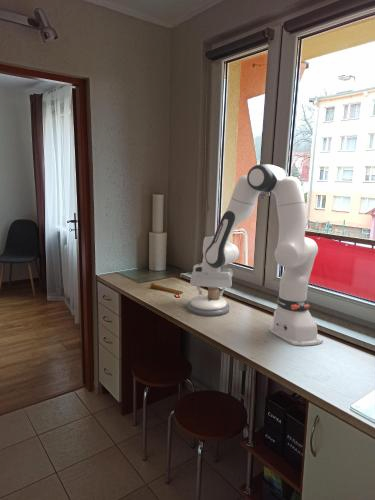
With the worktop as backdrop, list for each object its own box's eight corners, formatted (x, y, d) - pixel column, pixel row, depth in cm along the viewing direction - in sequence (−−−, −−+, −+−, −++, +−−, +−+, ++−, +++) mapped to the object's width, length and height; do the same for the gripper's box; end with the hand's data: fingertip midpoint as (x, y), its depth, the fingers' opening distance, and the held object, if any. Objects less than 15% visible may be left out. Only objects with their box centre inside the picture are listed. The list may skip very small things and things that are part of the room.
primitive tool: (183, 292, 201) (184, 286, 201) (179, 295, 196) (180, 289, 196) (152, 287, 208) (152, 281, 208) (147, 290, 203) (147, 284, 203)
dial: (231, 302, 180) (232, 290, 179) (217, 313, 165) (218, 299, 164) (200, 296, 188) (201, 284, 187) (184, 305, 173) (184, 292, 172)
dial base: (235, 314, 170) (236, 310, 170) (194, 317, 165) (194, 312, 164) (220, 300, 189) (220, 296, 189) (182, 303, 184) (182, 298, 183)
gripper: (232, 267, 181) (231, 294, 183) (191, 265, 183) (190, 292, 185) (233, 269, 174) (232, 298, 177) (190, 268, 176) (189, 296, 179)
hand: (210, 295), depth 181 cm, fingers open, 8 cm apart
